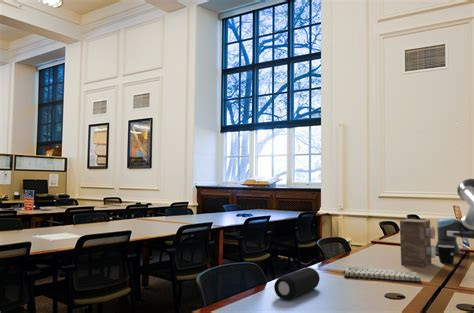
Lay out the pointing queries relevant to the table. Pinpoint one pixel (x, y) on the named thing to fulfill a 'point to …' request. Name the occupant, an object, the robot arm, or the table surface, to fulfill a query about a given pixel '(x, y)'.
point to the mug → (446, 254)
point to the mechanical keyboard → (381, 275)
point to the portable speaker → (296, 283)
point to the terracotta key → (430, 232)
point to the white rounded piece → (431, 251)
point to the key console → (415, 243)
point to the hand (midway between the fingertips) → (447, 233)
